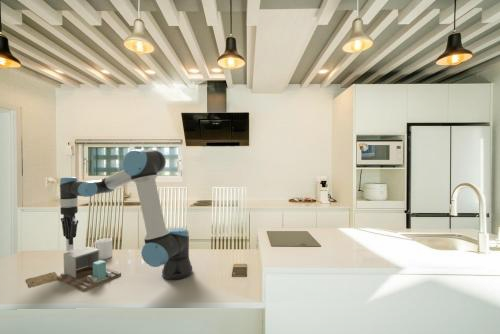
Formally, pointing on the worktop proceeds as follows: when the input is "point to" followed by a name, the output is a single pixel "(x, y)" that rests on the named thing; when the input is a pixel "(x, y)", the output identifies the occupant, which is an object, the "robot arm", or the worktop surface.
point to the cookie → (41, 279)
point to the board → (87, 278)
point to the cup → (104, 247)
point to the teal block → (99, 269)
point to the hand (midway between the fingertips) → (69, 250)
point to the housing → (79, 259)
